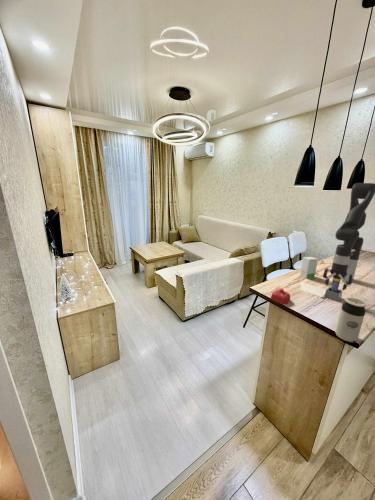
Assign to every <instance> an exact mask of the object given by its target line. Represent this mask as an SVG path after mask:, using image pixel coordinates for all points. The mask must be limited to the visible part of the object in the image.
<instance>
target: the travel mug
mask: <svg viewBox="0 0 375 500" xmlns="http://www.w3.org/2000/svg"><path fill="white" fill-rule="evenodd" d="M365 307H367V303H366V302H365V301H363V300H361V299H359V298H357V297H350V296H349V297H348V296H347V297H345V298H344V303H342V305H341V309H340V314H339V317H338V321H337V325H336V328H335V334H336V336H337V337H338V338H339V339H341V340H343V341H346V342H348V343H354V342H353V341H356V342H357V341H358V339H359V336H360V332H361V329H362V325H363V321H364V318H365V315H366V309H365Z"/></svg>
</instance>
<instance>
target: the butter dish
mask: <svg viewBox="0 0 375 500" xmlns="http://www.w3.org/2000/svg"><path fill="white" fill-rule="evenodd" d="M270 300H271V301H272V302H273V301H274V302H275V303H276V304H277V303H278V304H279V305H282V304H283V305H284V304H286V305H287V304H288V302H289V301H290V302H291V293H289V292H287V291H285V290H284V288H278V289H276V290H274V291H273V292H272V293H271V295H270ZM290 302H289V303H290ZM284 306H285V305H284Z"/></svg>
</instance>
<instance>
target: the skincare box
mask: <svg viewBox="0 0 375 500" xmlns="http://www.w3.org/2000/svg"><path fill="white" fill-rule="evenodd" d="M318 260H319V259H318V258H316V257H313V256H303V257H302V262H301V268H300V274H299V276H300V277H302V278H304V279H314V278H315V277H316V271H317V265H318Z"/></svg>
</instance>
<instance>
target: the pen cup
mask: <svg viewBox="0 0 375 500" xmlns="http://www.w3.org/2000/svg"><path fill="white" fill-rule="evenodd" d="M330 290H331V286H329V287H327V289H326V292H325V296H326V297H325V298H326V299H330V300H331V301H332V300H333V301H334V302H339V301H340V300H341V298H342V295H343V291H344V290H342V289H339V288H338V292H337V293H335V292H332V291H330Z"/></svg>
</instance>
